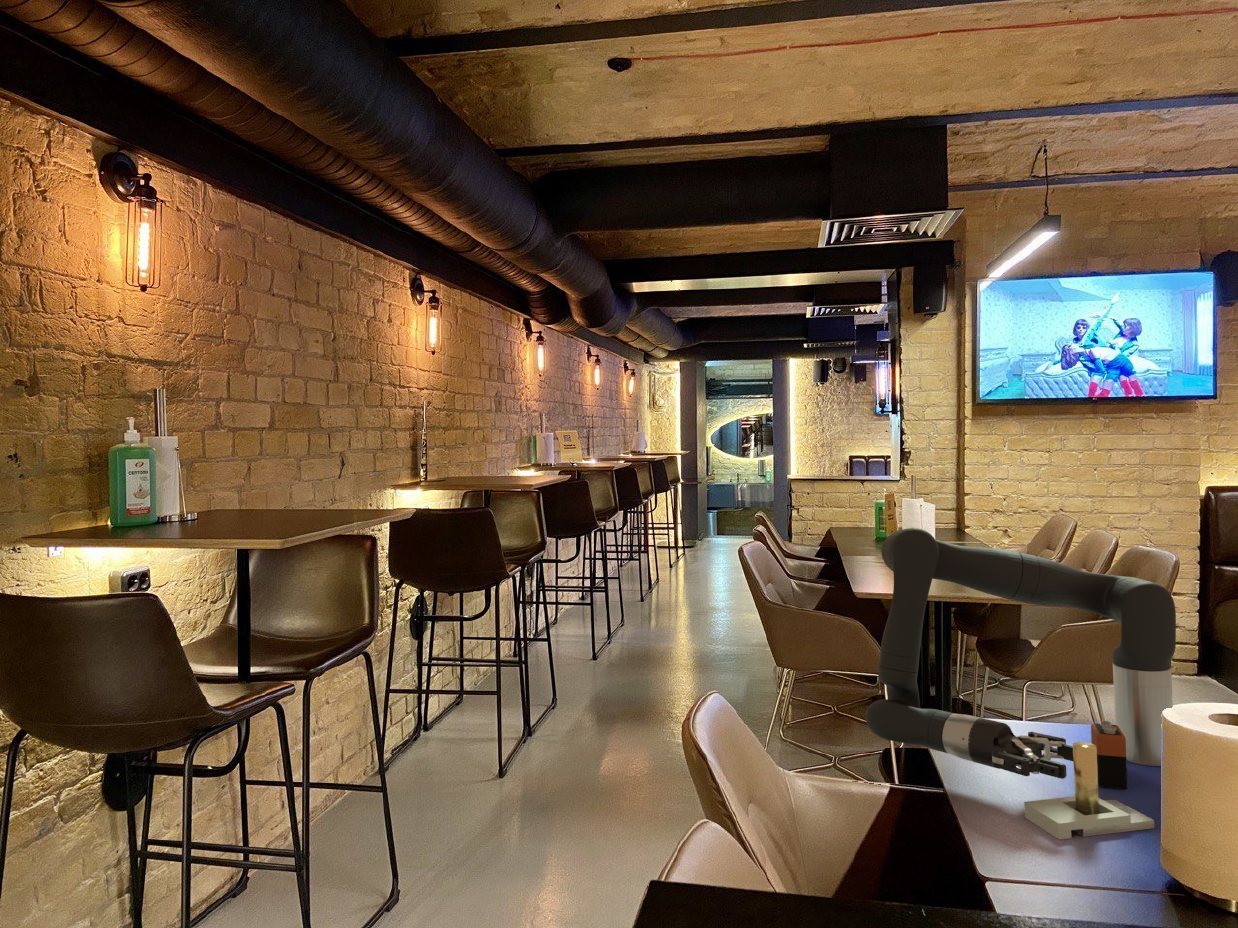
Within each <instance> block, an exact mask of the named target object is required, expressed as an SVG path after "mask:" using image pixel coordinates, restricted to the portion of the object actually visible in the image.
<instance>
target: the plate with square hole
mask: <svg viewBox="0 0 1238 928" xmlns="http://www.w3.org/2000/svg"><path fill="white" fill-rule="evenodd" d="M1023 806H1024V818H1025V819H1027V820H1029V821H1030V822H1032V823H1033V824H1035V825H1036V826H1037V827H1039V828H1040V829H1042V830H1044V832H1047V833H1049V834H1050V835H1051V836H1053V837H1054V838H1056V839H1058V840H1068V839H1072V831H1074V830H1077V829H1085V828H1093V827H1102V826H1110V825H1119V824H1127V823H1131V817H1130V815H1129V814H1127V813H1126V812H1124V811H1122V810H1120V809H1118V808H1116V807H1115V806H1113V805H1111V804H1109V803H1107V802H1105V801H1104V800H1103V799H1102V798H1100V797H1099V811H1100V812H1101V813H1102V814H1093V815H1083V814H1081V813H1080V812H1078V811H1076V810H1075V809H1074V808H1075V795H1074V796H1064V797H1058V798H1057V797H1056V798H1048V799H1047V798H1046V799H1039V800H1038V799H1036V800H1029V801H1028V800H1027V801H1024V803H1023Z"/></svg>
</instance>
